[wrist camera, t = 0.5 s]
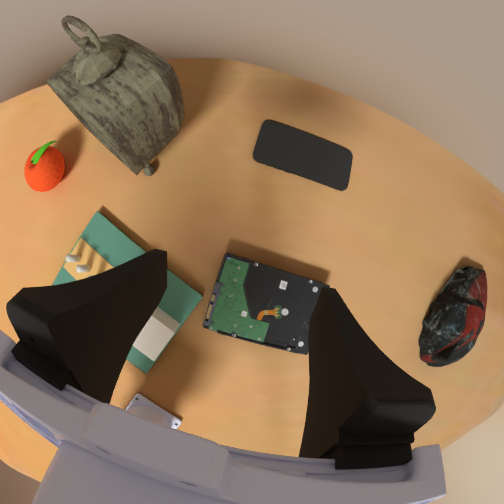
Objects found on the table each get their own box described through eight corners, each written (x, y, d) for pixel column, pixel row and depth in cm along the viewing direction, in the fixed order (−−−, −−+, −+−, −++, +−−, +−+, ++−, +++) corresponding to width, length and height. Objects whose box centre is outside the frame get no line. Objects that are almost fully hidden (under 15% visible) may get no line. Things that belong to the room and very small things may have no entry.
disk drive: (322, 282, 39) (223, 252, 37) (331, 283, 36) (224, 251, 34) (302, 350, 38) (202, 325, 36) (308, 355, 35) (201, 330, 33)
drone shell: (412, 372, 40) (439, 385, 32) (422, 266, 41) (453, 266, 33) (473, 350, 43) (497, 357, 35) (481, 264, 44) (507, 264, 36)
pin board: (148, 371, 34) (141, 382, 30) (53, 288, 33) (39, 290, 29) (203, 295, 36) (201, 299, 32) (99, 212, 34) (88, 206, 30)
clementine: (60, 143, 33) (39, 125, 26) (83, 160, 34) (62, 143, 27) (33, 183, 32) (9, 172, 25) (55, 204, 33) (30, 194, 26)
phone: (346, 192, 39) (251, 159, 37) (344, 194, 39) (250, 161, 38) (353, 151, 39) (264, 117, 37) (351, 153, 40) (263, 120, 38)
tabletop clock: (92, 136, 34) (10, 37, 9) (133, 96, 35) (86, -22, 10) (150, 190, 35) (65, 85, 10) (195, 144, 36) (179, 4, 12)
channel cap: (161, 349, 34) (154, 361, 29) (113, 310, 33) (98, 317, 28) (180, 323, 34) (174, 332, 29) (130, 284, 33) (117, 287, 28)
